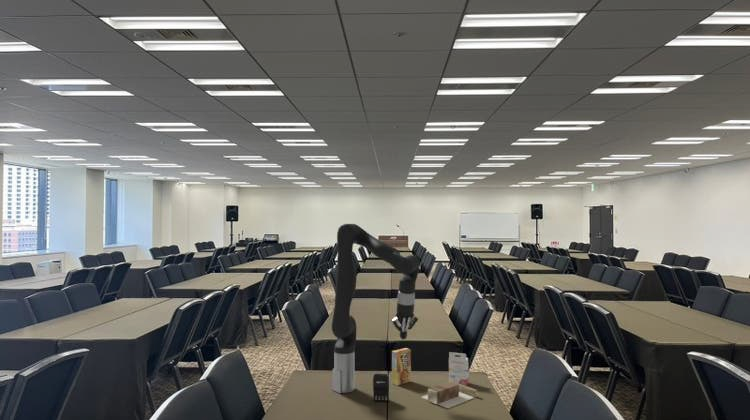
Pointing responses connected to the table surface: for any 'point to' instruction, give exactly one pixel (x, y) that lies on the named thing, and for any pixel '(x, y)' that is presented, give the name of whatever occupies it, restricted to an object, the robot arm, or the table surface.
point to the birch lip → (467, 390)
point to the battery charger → (381, 387)
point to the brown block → (443, 392)
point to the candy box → (401, 366)
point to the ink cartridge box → (458, 368)
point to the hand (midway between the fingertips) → (402, 338)
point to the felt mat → (453, 400)
